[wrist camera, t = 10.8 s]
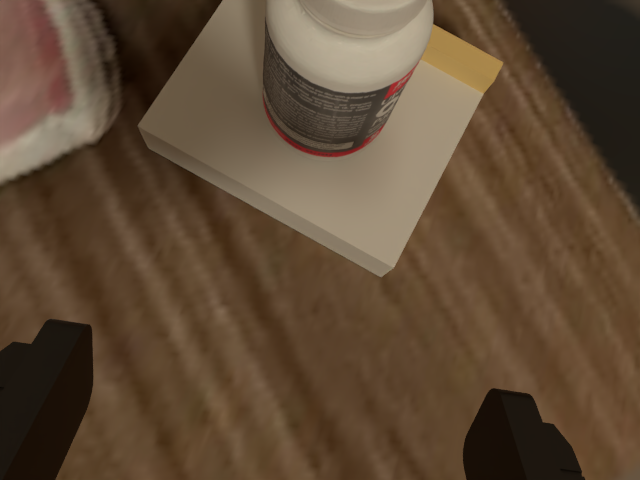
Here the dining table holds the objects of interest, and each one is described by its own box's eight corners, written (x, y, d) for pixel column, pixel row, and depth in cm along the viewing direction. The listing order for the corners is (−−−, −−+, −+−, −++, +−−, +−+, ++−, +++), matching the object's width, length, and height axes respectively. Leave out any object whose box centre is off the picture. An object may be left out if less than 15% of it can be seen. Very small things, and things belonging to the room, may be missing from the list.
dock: (148, 148, 26) (131, 113, 23) (258, -17, 29) (258, -72, 25) (380, 277, 26) (400, 262, 23) (472, 100, 29) (503, 62, 25)
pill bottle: (384, 170, 25) (465, 46, 15) (257, 158, 24) (259, 23, 15) (388, 54, 26) (466, -127, 16) (267, 41, 25) (274, -154, 16)
